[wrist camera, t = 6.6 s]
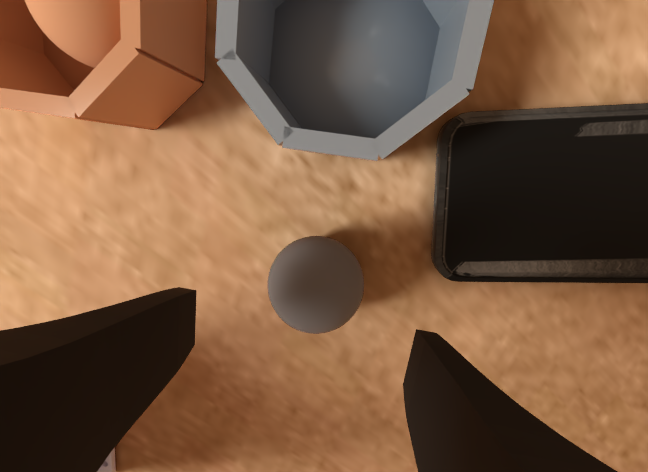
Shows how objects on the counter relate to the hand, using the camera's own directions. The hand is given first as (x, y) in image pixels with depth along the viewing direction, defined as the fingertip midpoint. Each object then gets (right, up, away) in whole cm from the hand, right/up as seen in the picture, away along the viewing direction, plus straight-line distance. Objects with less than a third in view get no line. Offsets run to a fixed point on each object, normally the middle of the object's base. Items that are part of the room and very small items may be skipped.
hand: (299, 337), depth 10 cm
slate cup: (+2, +11, +4) cm, 12 cm away
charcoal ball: (0, +1, +4) cm, 5 cm away
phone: (+14, +5, +5) cm, 15 cm away
